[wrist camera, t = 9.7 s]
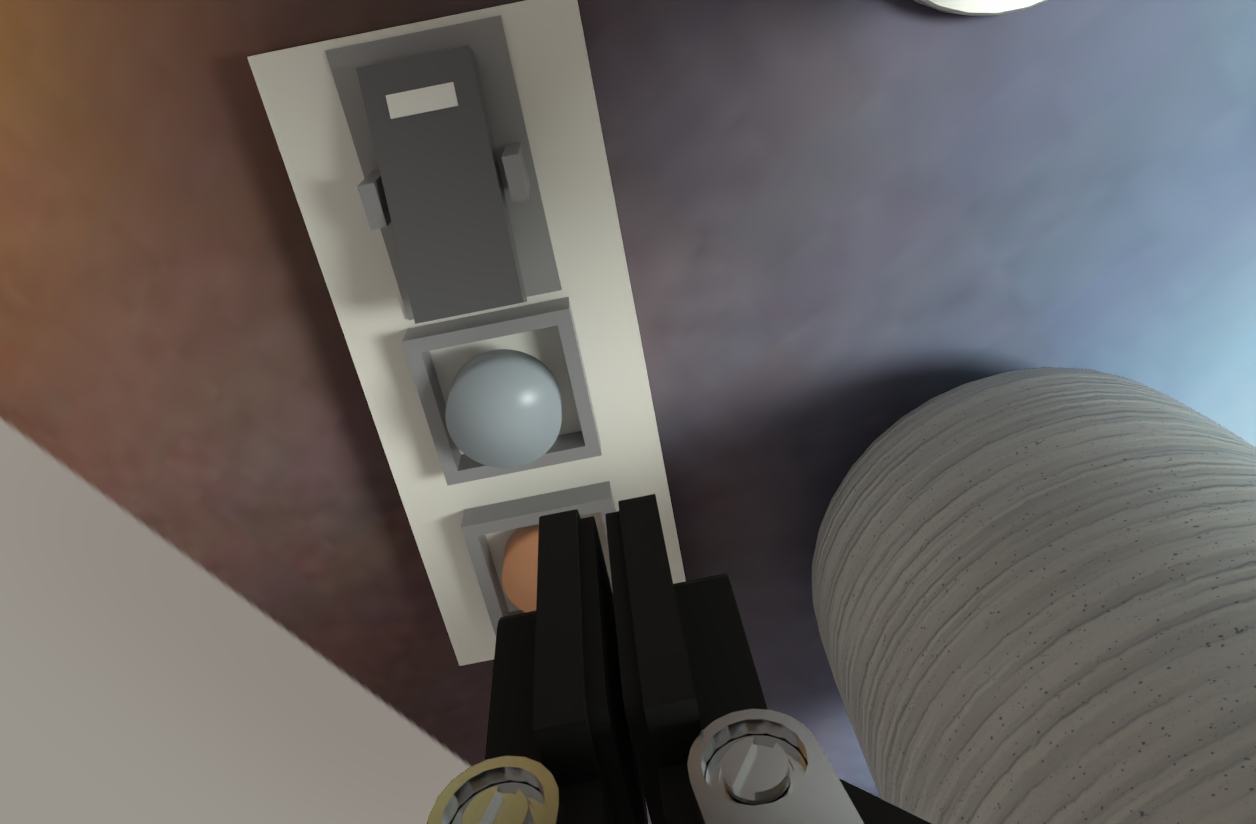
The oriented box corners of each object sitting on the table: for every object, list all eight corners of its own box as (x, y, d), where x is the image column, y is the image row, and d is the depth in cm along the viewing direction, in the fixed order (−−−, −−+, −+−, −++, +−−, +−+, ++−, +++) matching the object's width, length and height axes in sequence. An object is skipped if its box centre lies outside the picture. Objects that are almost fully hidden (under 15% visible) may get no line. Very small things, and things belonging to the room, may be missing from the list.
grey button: (548, 339, 35) (547, 354, 34) (571, 438, 37) (572, 456, 36) (436, 361, 35) (431, 377, 34) (465, 459, 37) (462, 477, 36)
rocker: (475, 55, 32) (468, 44, 30) (527, 301, 33) (523, 302, 32) (367, 76, 32) (354, 67, 30) (423, 322, 33) (414, 324, 32)
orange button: (590, 507, 40) (592, 526, 39) (609, 586, 42) (611, 607, 41) (493, 526, 40) (490, 546, 39) (516, 604, 42) (514, 626, 41)
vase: (771, 671, 49) (1114, 1750, 19) (798, 334, 40) (1515, 1346, 10) (1116, 650, 50) (1948, 1628, 20) (1216, 319, 42) (2941, 1178, 12)
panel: (574, -10, 33) (577, -10, 29) (686, 590, 46) (701, 659, 41) (267, 52, 34) (220, 62, 29) (463, 633, 46) (453, 706, 42)
